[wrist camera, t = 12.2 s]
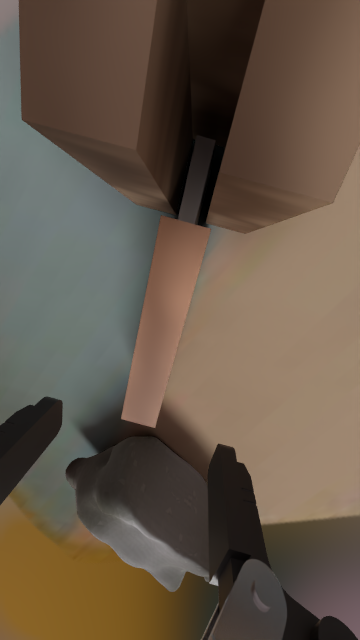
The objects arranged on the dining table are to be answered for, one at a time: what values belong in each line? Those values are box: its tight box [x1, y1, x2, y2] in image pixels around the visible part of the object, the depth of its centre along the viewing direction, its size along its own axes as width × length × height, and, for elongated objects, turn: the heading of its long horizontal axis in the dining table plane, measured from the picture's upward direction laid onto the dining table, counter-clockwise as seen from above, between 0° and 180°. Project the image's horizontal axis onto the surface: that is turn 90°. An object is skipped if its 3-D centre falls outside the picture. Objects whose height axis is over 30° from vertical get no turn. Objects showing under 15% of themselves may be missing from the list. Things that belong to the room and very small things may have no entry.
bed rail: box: [121, 135, 216, 428], centre depth 16 cm, size 3×20×5 cm, turn 166°
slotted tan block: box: [19, 0, 360, 234], centre depth 9 cm, size 9×9×11 cm
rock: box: [66, 437, 209, 592], centre depth 23 cm, size 18×11×8 cm, turn 41°
